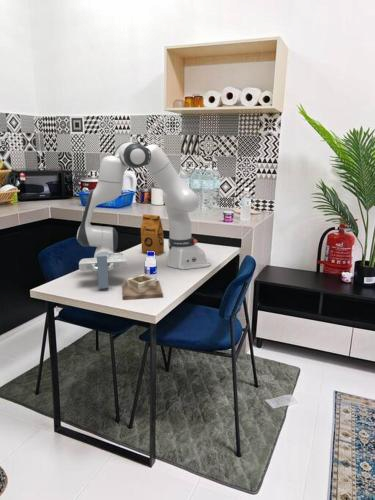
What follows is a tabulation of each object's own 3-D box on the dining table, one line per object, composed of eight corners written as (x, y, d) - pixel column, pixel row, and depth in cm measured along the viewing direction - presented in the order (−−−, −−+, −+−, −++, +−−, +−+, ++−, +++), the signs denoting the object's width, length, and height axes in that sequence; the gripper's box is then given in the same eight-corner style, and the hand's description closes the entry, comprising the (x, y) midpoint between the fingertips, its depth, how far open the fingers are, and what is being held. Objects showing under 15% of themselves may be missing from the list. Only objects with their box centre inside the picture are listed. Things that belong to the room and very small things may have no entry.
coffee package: (157, 256, 216) (156, 217, 210) (139, 253, 222) (137, 215, 216) (167, 252, 224) (166, 214, 218) (149, 249, 230) (148, 212, 224)
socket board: (158, 283, 174) (158, 272, 173) (162, 297, 159) (162, 284, 157) (122, 285, 171) (121, 274, 170) (122, 299, 156) (122, 286, 155)
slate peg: (108, 284, 169) (106, 253, 166) (108, 287, 165) (106, 256, 162) (99, 285, 169) (97, 254, 165) (98, 288, 165) (96, 256, 161)
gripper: (79, 254, 175) (76, 263, 161) (125, 252, 178) (126, 260, 165) (80, 267, 176) (77, 277, 163) (126, 265, 180) (127, 274, 167)
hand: (102, 269), depth 164 cm, fingers closed on slate peg, 4 cm apart
